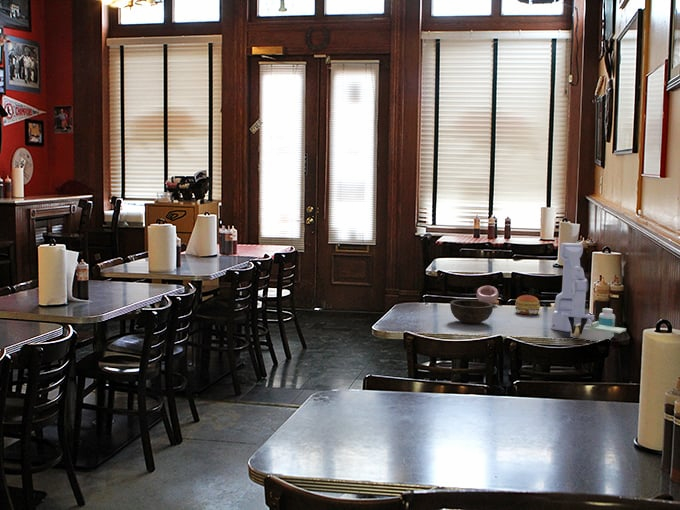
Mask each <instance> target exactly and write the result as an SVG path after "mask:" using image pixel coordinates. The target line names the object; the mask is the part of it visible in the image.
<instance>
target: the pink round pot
mask: <svg viewBox="0 0 680 510" xmlns="http://www.w3.org/2000/svg"><path fill="white" fill-rule="evenodd" d="M498 297H499V291H498V289H497V288H496V287H495V286H491V285H488V284H487V285H483V286H480V287H479V288H478V289H477V290H476V298H477V300H478V301H485V302H489V303H492V304H493V305H494V303H496V301H497V300H498Z"/></svg>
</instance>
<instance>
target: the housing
mask: <svg viewBox="0 0 680 510" xmlns="http://www.w3.org/2000/svg"><path fill="white" fill-rule="evenodd" d="M575 325H580V326H581V322H580V323H579V322H578V323H576V324H575ZM590 327H591V324H587V323H586V324H585V326H584V328H583V331H582V334H580V337H579V338H581V339H586V340H590V341H589V342H592V341H599V340H604V339H609V340H610V341H611V340H612V338H611V332H607V331H600V330H595V329H590ZM570 337H573V334H572V329H571V331H570V335H569V338H570ZM573 338H576V337H573ZM573 338H572V339H573ZM586 340H585V341H586Z"/></svg>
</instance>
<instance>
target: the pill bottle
mask: <svg viewBox="0 0 680 510" xmlns="http://www.w3.org/2000/svg"><path fill="white" fill-rule="evenodd" d="M613 310H614V309H612V308H610V307H609V308H608V307H605V308H602V310H601V311H602V312H600V313H599V315H598V322H599V325H606V326H612V327H616V326H615V323H616V315H615V314H614V313H613ZM614 335H615V333H614V332H611V339H612V338H613V337H615V336H614Z"/></svg>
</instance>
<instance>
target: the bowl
mask: <svg viewBox="0 0 680 510" xmlns="http://www.w3.org/2000/svg"><path fill="white" fill-rule="evenodd" d="M449 305H450V311H451V314H452V315H453V317H455V319H457V320H458V321H460V322H461V323H465V324H469V325H472V324H473V325H474V324H481V323H483V322H485V321H486V320H488V319H489V318H490V316H491V315H492V313H493V309H494V303H493V304H492V303H489V302H485V301H479V300H478V299H477V300H476V299H456V300H455V299H454V300H451V301H450V303H449Z"/></svg>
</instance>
